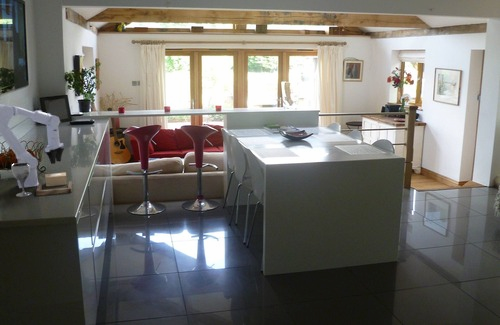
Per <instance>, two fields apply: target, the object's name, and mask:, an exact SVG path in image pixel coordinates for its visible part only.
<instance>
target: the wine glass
mask: <svg viewBox="0 0 500 325" xmlns="http://www.w3.org/2000/svg"><path fill="white" fill-rule="evenodd" d="M10 166H11V171H12V176H13V177H14V178H15V179H16V180H17V181H18V180H19V181H20V183H21V185H22V188H21V189H22V192H19V193H17V194H15V196H16V197H18V198H19V197H21V198H22V197H23V198H24V197H28V196H31V195H32V194H33V193H32V192H31V191H29V192H28V191H25V188H24V182H25V180H26V179H27V177H28V176H29V173H30V165H29V163H18V162H17V163H13V164H11V165H10Z"/></svg>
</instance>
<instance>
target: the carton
mask: <svg viewBox="0 0 500 325" xmlns="http://www.w3.org/2000/svg"><path fill="white" fill-rule="evenodd" d="M44 176H45V186H46V187H47V188H48V187H55V186H64V185H68V182H67V180H68V179H67V172H56V173H48V174H47V173H46V174H44Z"/></svg>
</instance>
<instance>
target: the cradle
mask: <svg viewBox="0 0 500 325" xmlns="http://www.w3.org/2000/svg"><path fill="white" fill-rule="evenodd" d="M67 186H68V187H65V188H52V189H43V183H39V185H38V186H37V188H36V189H35V195H36V196H47V195H48V196H49V195H57V194H59V193H60V194H70V193H71V194H72V191H73V180H69V181H68V184H67Z"/></svg>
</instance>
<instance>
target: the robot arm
mask: <svg viewBox="0 0 500 325" xmlns="http://www.w3.org/2000/svg"><path fill="white" fill-rule="evenodd" d="M17 115H20V116H23V117H27V118H31V120H32V121H33V122H36V123H40V124H41V125H46V136H47V143H48V144H47V145H46V147H44V152H45V154H46V155H47V157H48V159H49V162H50V164H52V165H53V164H56V162H61V161H62V155H63V152H64V150H65V148H64V142H60V131H59V125H60V123H61V120H60V118H59V117H58V115H54V114H53V115H52V114H51V113H50V112H47V113H46V112H43V110H41V109H38V110H33V111H31V110H29V109H25V108H22V107H19V106H15V105H7V104H1V103H0V136H1V137H2V138H3V140H4V141H5V142H6V144H7V145H8V147H9V148H10V149H11V150H12V151H13V153H14V154H15V159H17V163H29V165H30V173H29V176H28V177H27V179H26V180H25V182H24V189H25V188H33V187H38V185H39V184H40V183H39V180H38V172H37V166H38V165H39V162H38V161H39V160H38V159H37V158H36V157H34V156H33V155H32V154H31V153H30V152H28V151H27V150H26V148H25V147H24V146H23V144H22V143H21V141H20V140H19V139H18V138H17V136H16V135H15V134H14V132H13V131H12V129H11V128H10V127H9V123H10V121H11V119H12V118H13V116H14V117H15V116H17ZM16 183H17V185H18V188H19V189H22V185H21V183H20V181H19V180H17V181H16Z"/></svg>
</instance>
